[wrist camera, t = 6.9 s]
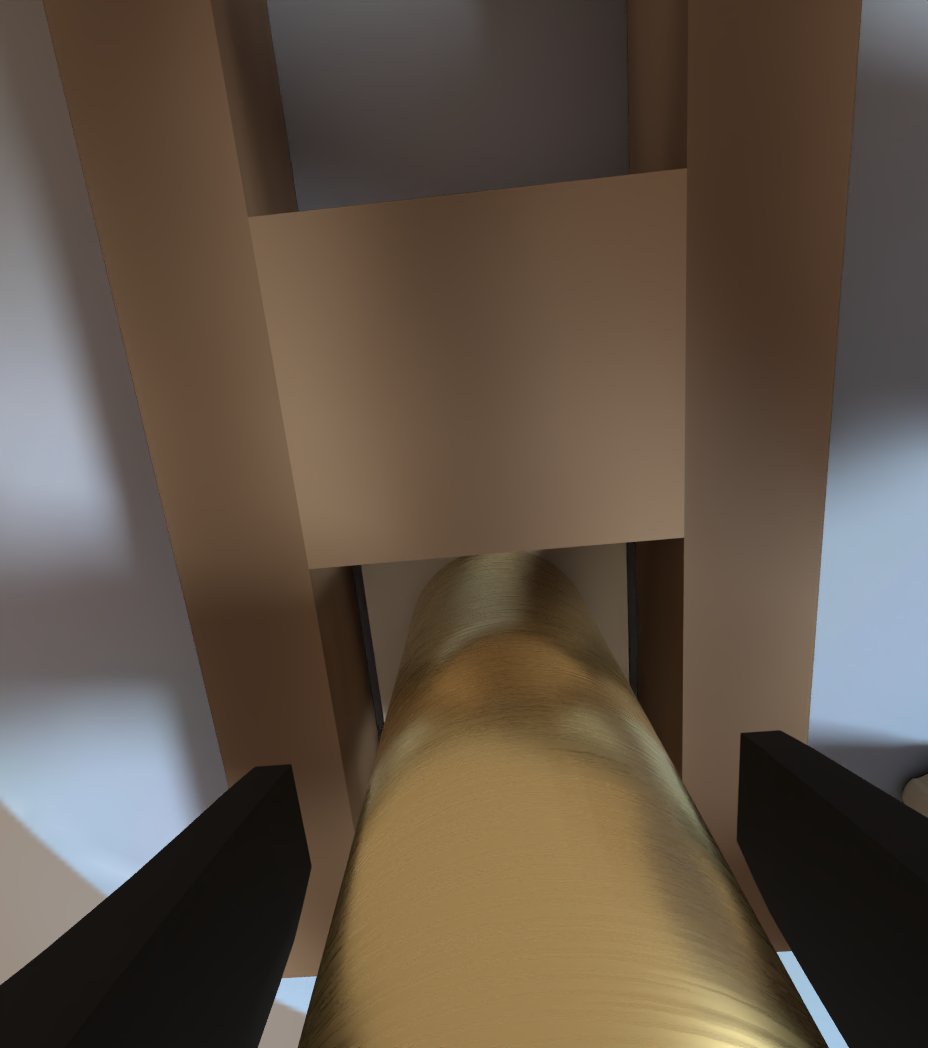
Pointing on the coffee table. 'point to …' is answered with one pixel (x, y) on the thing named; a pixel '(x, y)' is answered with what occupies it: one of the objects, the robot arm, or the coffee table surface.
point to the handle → (917, 794)
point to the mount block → (481, 382)
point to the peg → (535, 852)
